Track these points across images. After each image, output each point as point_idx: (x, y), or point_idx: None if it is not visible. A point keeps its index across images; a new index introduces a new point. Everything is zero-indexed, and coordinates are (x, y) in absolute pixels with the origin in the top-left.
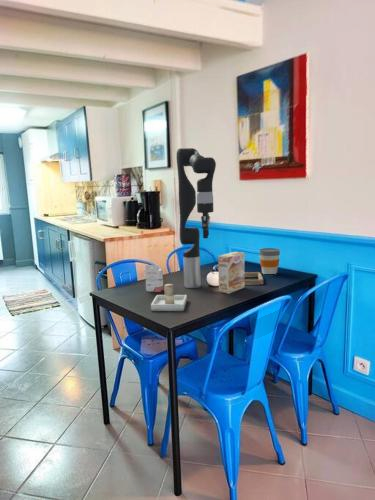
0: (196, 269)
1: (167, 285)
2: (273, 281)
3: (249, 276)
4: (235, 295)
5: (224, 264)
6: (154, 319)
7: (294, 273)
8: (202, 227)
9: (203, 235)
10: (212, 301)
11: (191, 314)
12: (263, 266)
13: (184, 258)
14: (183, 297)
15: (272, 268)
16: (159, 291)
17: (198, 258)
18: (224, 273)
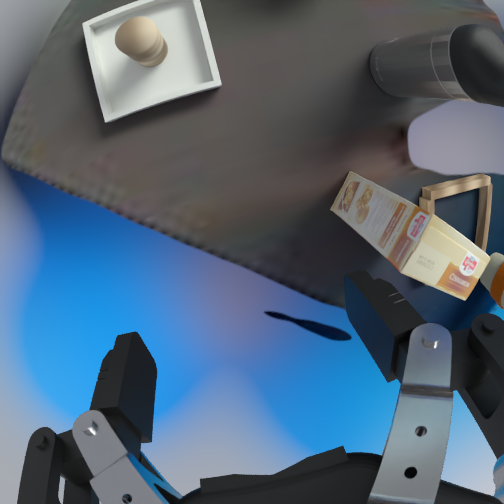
0: (421, 85)
1: (130, 31)
2: (436, 294)
3: (477, 231)
4: (314, 234)
5: (391, 234)
6: (30, 82)
7: (477, 315)
8: (29, 449)
9: (113, 358)
10: (234, 178)
11: (90, 160)
12: (499, 269)
13: (449, 31)
14: (212, 76)
15: (489, 287)
16: None
17: (463, 97)
18: (371, 217)
